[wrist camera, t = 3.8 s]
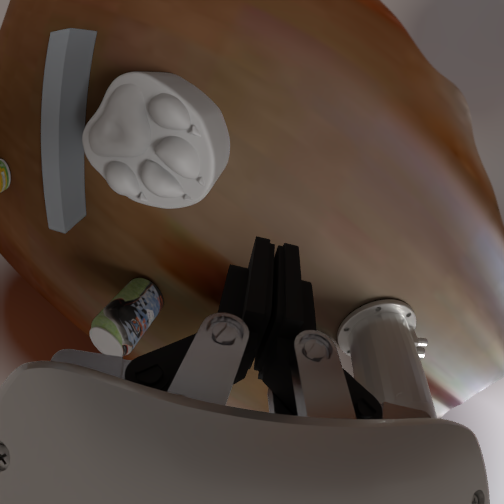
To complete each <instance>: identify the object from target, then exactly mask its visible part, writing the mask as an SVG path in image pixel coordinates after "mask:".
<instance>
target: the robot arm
mask: <svg viewBox="0 0 504 504" xmlns="http://www.w3.org/2000/svg"><path fill="white" fill-rule="evenodd" d="M274 249H275V244H271V243H270V239H265V238H261V237H257V236H256V239H255V243H254V247H253V251H252V254H251V258H250V262H249V266H248V268H244V267H239V266H235V265H230V266H229V270H228V274H227V278H226V282H225V286H224V290H223V294H222V298H221V302H220V306H219V310H218V313H215V314H211V315H210V316H208V317H207V318H206V319H205V320H204V321H203V322H202V324H201V326H200V328H199V330H198V332H197V333H196V334H194V335H191V336H189V337H186V338H184V339H182V340H179V341H177V342H174V343H172V344H169V345H167V346H165V347H162V348H160V349H157V350H155V351H152V352H149V353H147V354H144V355H142V356H139V357H137V358H135V359H134V360H132V361H131V360H123V357H121V356H113V355H105V354H98V353H91V352H85V351H79V350H73V349H64V350H61V351H59V352H57V353H56V354H55V355H54V356H53V358H52V360H51V361H37V362H30V363H26V364H23V365H21V366H19V367H18V368H16V369H15V370H14V371H13V372H12V373H11V374H10V375H9V376H8V377H7V379H6V380H5V381H4V383H3V384H2V386H1V387H0V504H490V500H489V489H488V481H487V475H486V469H485V464H484V460H483V455H482V452H481V449H480V445H479V443H478V440H477V438H476V436H475V434H474V433H473V432H472V431H471V430H470V429H469V428H467V427H466V426H464V425H461V424H459V423H456V422H453V421H449V420H444V419H437V416H436V412H435V408H434V405H433V401H432V397H431V394H430V390H429V387H428V383H427V380H426V376H425V373H424V370H423V367H422V364H421V361H420V359H422V358H423V357H424V355H425V349H424V348H422V347H425V346H427V343H428V340H427V339H426V338H417V336H416V333H415V328H416V322H417V321H416V316H415V314H414V311H413V310H412V308H411V307H410V306H409V305H408V304H406V303H404V302H402V301H399V300H394V299H385V300H378V301H374V302H370V303H368V304H366V305H363V306H361V307H360V308H358V309H356V310H355V311H353V312H352V313H351V314H349V315H348V316H347V317H346V318H345V319H344V321H343V322H342V323H341V325H340V327H339V330H338V334H337V338H338V344H339V347H340V349H341V350H342V351H343V352H344V353H345V354H347V355H349V356H351V360H352V367H353V373H354V378H353V377H352V376H351V375H350V374H349V373H347V372H346V371H345V370H344V369H343V368H342V365H341V361H340V358H339V354H338V351H337V348H336V346H335V344H334V342H333V341H332V340H331V338H330V337H328V336H327V335H326V334H324V333H322V332H319V331H316V320H315V310H314V301H313V291H312V284H311V283H310V282H307V281H302V280H301V270H300V257H299V247H298V246H295V245H291V244H287V243H284V245H283V246H278V248H277V251H276V254H275V257H274ZM417 346H421V347H417ZM254 358H255V363H254V370H258V371H259V374H258V379H262V380H263V382H264V383H265V384H266V385H267V386H268V387H269V388H268V403H269V413H267V412H260V411H254V410H247V409H241V408H236V407H230V406H225V405H226V402H227V399H228V396H229V394H230V391H231V388H232V385H233V384H235V383H237V382H238V381H240V380H242V379H244V378H245V376H246V373H247V371H248V369H250V368H251V365H252V363H253V360H254Z"/></svg>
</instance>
